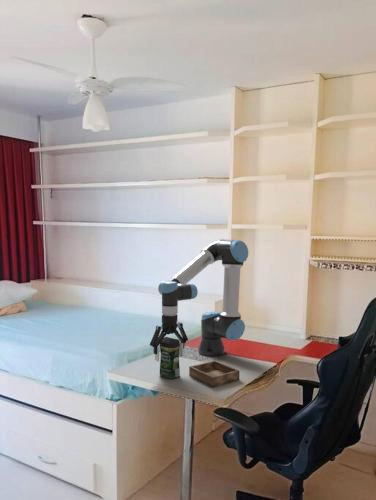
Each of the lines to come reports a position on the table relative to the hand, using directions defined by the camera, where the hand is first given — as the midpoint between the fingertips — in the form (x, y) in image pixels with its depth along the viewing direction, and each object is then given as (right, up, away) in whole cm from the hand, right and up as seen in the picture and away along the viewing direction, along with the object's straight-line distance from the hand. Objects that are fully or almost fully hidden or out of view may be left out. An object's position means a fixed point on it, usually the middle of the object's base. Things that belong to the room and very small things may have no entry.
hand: (169, 358), depth 194 cm
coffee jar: (0, -9, +1) cm, 9 cm away
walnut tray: (+21, -9, -2) cm, 23 cm away
